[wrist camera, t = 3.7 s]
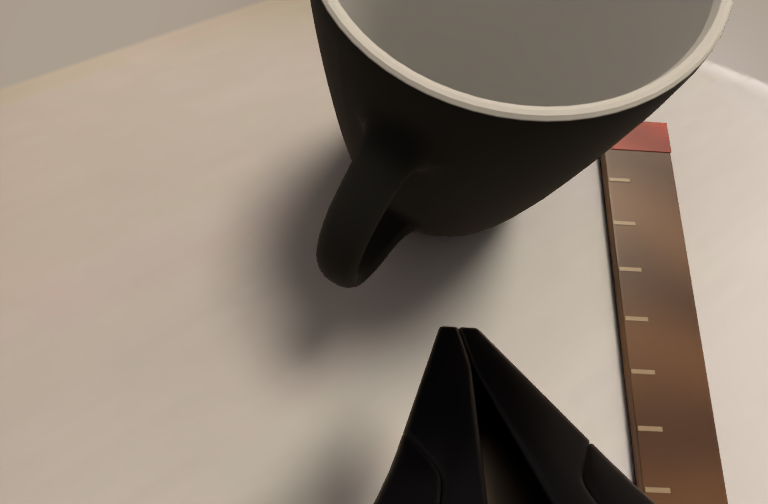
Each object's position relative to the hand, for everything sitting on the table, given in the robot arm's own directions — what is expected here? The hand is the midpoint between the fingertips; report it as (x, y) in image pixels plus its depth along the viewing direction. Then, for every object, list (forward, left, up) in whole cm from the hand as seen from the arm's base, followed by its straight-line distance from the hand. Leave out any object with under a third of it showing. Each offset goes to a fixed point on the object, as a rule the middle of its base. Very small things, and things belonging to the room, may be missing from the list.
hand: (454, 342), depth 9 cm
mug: (+6, -2, -7) cm, 10 cm away
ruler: (0, -10, -7) cm, 12 cm away
